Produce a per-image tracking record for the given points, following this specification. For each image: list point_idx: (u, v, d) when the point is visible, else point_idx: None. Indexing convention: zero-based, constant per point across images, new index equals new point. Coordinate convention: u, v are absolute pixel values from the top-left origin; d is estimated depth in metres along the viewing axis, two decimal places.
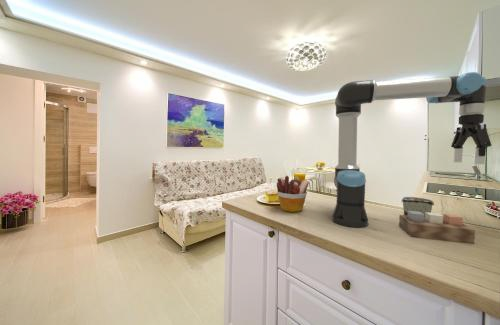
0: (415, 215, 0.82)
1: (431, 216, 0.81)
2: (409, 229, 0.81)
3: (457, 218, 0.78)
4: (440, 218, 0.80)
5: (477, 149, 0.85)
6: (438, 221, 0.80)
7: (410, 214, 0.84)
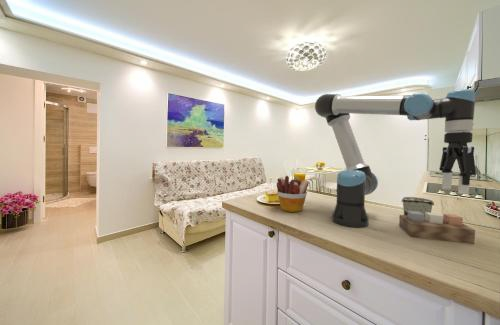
0: (415, 215, 0.82)
1: (431, 216, 0.81)
2: (409, 229, 0.81)
3: (457, 218, 0.78)
4: (440, 218, 0.80)
5: (460, 177, 0.75)
6: (438, 221, 0.80)
7: (410, 214, 0.84)
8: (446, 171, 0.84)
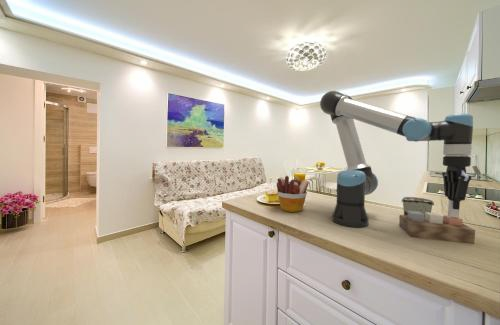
0: (415, 215, 0.82)
1: (431, 216, 0.81)
2: (409, 229, 0.81)
3: (457, 220, 0.78)
4: (440, 218, 0.80)
5: (451, 201, 0.79)
6: (438, 221, 0.80)
7: (410, 214, 0.84)
8: None
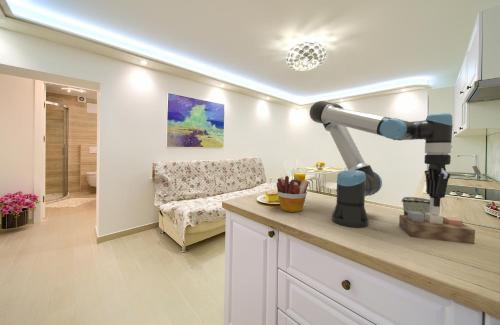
0: (415, 215, 0.82)
1: (431, 216, 0.81)
2: (409, 229, 0.81)
3: (457, 221, 0.78)
4: (440, 218, 0.80)
5: (432, 198, 0.81)
6: (438, 222, 0.80)
7: (410, 214, 0.84)
8: None
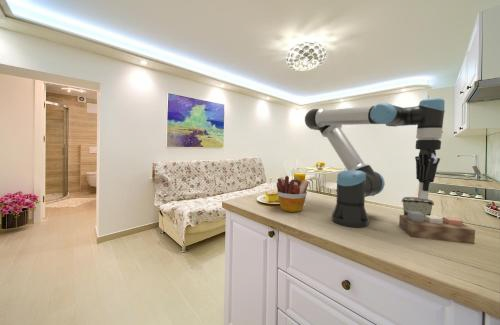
0: (415, 215, 0.82)
1: (431, 219, 0.81)
2: (409, 229, 0.81)
3: (457, 221, 0.78)
4: (440, 221, 0.80)
5: (421, 183, 0.83)
6: None
7: (410, 214, 0.84)
8: None
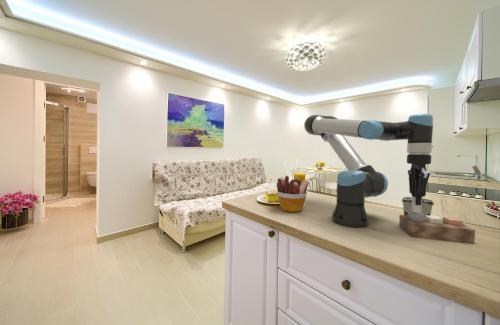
0: (415, 215, 0.82)
1: (431, 219, 0.81)
2: (409, 229, 0.81)
3: (457, 221, 0.78)
4: (440, 221, 0.80)
5: (414, 197, 0.83)
6: None
7: (410, 214, 0.84)
8: None
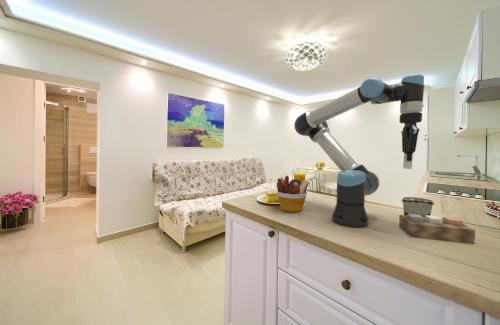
0: (415, 218, 0.82)
1: (431, 219, 0.81)
2: (409, 229, 0.81)
3: (457, 221, 0.78)
4: (440, 221, 0.80)
5: (405, 154, 0.89)
6: None
7: (410, 217, 0.84)
8: None
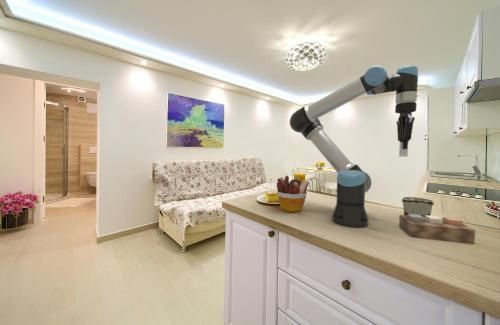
0: (415, 218, 0.82)
1: (431, 219, 0.81)
2: (409, 229, 0.81)
3: (457, 221, 0.78)
4: (440, 221, 0.80)
5: (401, 142, 0.93)
6: None
7: (410, 217, 0.84)
8: None
